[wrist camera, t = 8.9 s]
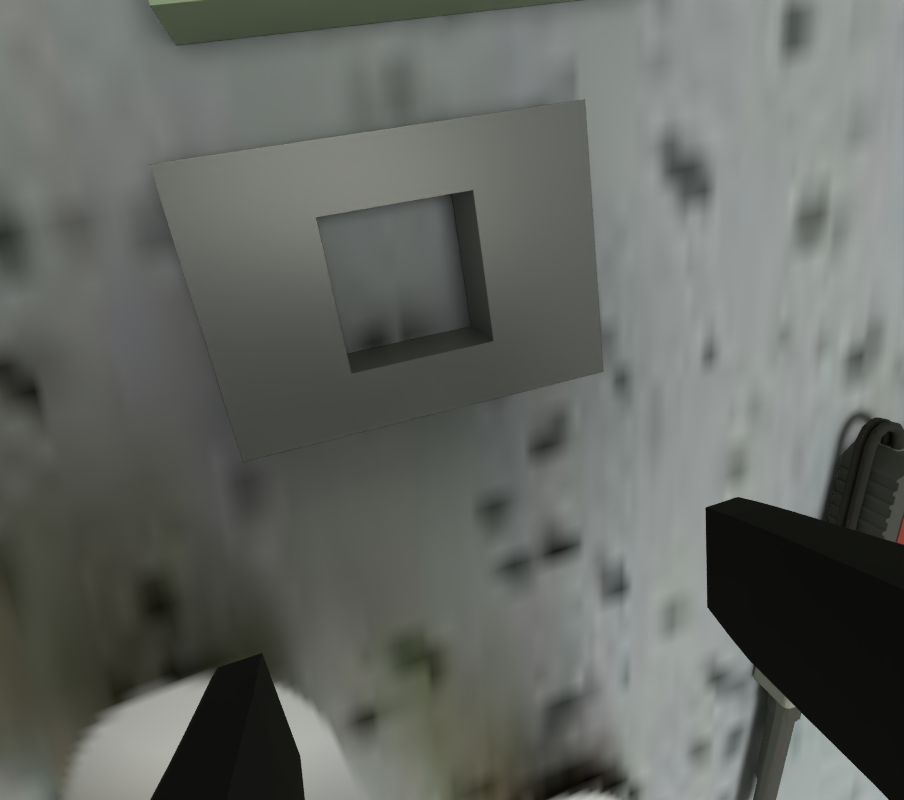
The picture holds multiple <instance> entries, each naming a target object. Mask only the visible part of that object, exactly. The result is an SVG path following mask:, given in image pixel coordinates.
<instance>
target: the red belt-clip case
mask: <svg viewBox="0 0 904 800" xmlns="http://www.w3.org/2000/svg"><path fill="white" fill-rule="evenodd" d="M841 457H842V463H841V465H840V466H839V468H838V470H840V471H839V475H838V478H836V480H835V482H836V483H837V484H836V488H835V490H834V491H833V493H832V494H833V495H834V497H833V501H832V502H831V503H830V507H831V509H830V514H828V515H827V519H828V522H829V523H832V524H835V525H839V526H842V527H845V528H849V529H852V530H855V531H859V532H862V533H865V534H869V535H872V536H875V537H879V538H882V539H886V540H889V541H892V542H896V543H899V544H903V545H904V430H903V428H902V426H901V425H900V424H899V423H894V422H891V421H890V420H887V419H883V418H874V419H871V420H870V421H869V422H868V423H866V424H865V425H864V426H863V427H862V429H861V431H860V433H859V435H858V437H857V439H856V441H855V442H854V443H853V444H852V445H851V446H850V447H849V448H848V449H847V450H846V451H845V452H844V453H843V454H842V455H841ZM754 678H755V680H756V681H757V682H758V683H759V684H760V685H761V686H762V687H763V688H764V689H765V690H766V691H767V692H768V693H769V695H768V700H767V707H768V709H769V711H768V716H767V721H766V725H765V730H764V734H763V739H762V744H761V748H760V753H759V757H758V762H757V766H756V771H755V773H756V777H757V784H756V789H755V793H754V798H753V800H776V797H777V793H778V789H779V785H780V781H781V777H782V772H783V768H784V764H785V760H786V756H787V752H788V748H789V744H790V740H791V736H792V731H793V727H794V723H795V722H796V721H797V720H798V719H800V716H801V712H800V711H799V710H798V709H797V708H796V707H795V706H794V705H793V704H792V703H791V702H790V701H789V700H788V699H787V698H786V697H785V696H784V695H783V694H782V693H781V692H780V691H779V690H778V689H777V688H776V687H775V686H774V685H773V684H772V683H771V682H770V681H769V680H768V679H767V678H766V677H765V676H764V675H763V674H762V673H761V672H760V671H759V670H758V669H757V668H756V667H755V671H754Z"/></svg>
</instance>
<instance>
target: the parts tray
mask: <svg viewBox="0 0 904 800" xmlns="http://www.w3.org/2000/svg"><path fill="white" fill-rule="evenodd" d="M568 1H577V0H149V4H150V6H151V8H152V9H153V11H154V12H155V14H156V15H157V17H158V18H159V20H160V21H161V23H162V24H163V26H164V28H165V29H166V31H167V32H168V34H169V35H170V37H171V38H172V40H173V41H174V43H175V44H176V45H183V44H192V43H201V42H210V41H219V40H228V39H237V38H246V37H255V36H264V35H273V34H282V33H291V32H299V31H308V30H317V29H326V28H335V27H344V26H353V25H362V24H371V23H380V22H389V21H398V20H407V19H416V18H425V17H434V16H443V15H452V14H461V13H470V12H479V11H488V10H496V9H505V8H514V7H523V6H532V5H541V4H550V3H559V2H568Z"/></svg>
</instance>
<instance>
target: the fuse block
mask: <svg viewBox="0 0 904 800" xmlns="http://www.w3.org/2000/svg"><path fill="white" fill-rule="evenodd" d="M149 165H150V168H151V172H152V175H153V178H154V181H155V184H156V187H157V191H158V194H159V197H160V200H161V203H162V206H163V210H164V213H165V216H166V219H167V222H168V226H169V229H170V232H171V235H172V238H173V241H174V245H175V248H176V251H177V254H178V257H179V260H180V264H181V267H182V270H183V273H184V276H185V279H186V283H187V286H188V289H189V292H190V295H191V299H192V302H193V305H194V308H195V311H196V314H197V318H198V321H199V324H200V327H201V330H202V333H203V337H204V340H205V343H206V346H207V349H208V352H209V356H210V359H211V362H212V365H213V368H214V371H215V375H216V378H217V381H218V384H219V387H220V391H221V394H222V397H223V400H224V403H225V406H226V410H227V413H228V416H229V419H230V422H231V425H232V429H233V432H234V435H235V438H236V441H237V444H238V448H239V451H240V454H241V457H242V460H243V462H245V461H249V460H253V459H257V458H261V457H265V456H269V455H273V454H277V453H281V452H285V451H289V450H293V449H297V448H301V447H305V446H309V445H313V444H317V443H321V442H325V441H329V440H333V439H337V438H341V437H345V436H349V435H353V434H357V433H361V432H365V431H369V430H373V429H377V428H381V427H385V426H389V425H393V424H397V423H401V422H405V421H409V420H412V419H416V418H420V417H424V416H428V415H432V414H436V413H440V412H444V411H448V410H452V409H456V408H460V407H464V406H468V405H472V404H476V403H480V402H484V401H488V400H492V399H496V398H500V397H504V396H508V395H512V394H516V393H520V392H524V391H528V390H532V389H536V388H540V387H544V386H548V385H552V384H556V383H560V382H564V381H568V380H572V379H576V378H580V377H584V376H588V375H592V374H596V373H600V372H604V371H603V357H602V342H601V327H600V312H599V297H598V283H597V268H596V253H595V238H594V224H593V209H592V194H591V179H590V164H589V150H588V135H587V120H586V105H585V99H584V100H577V101H571V102H564V103H557V104H551V105H544V106H537V107H530V108H524V109H517V110H510V111H503V112H497V113H490V114H483V115H476V116H470V117H463V118H456V119H450V120H443V121H436V122H429V123H423V124H416V125H409V126H402V127H396V128H389V129H382V130H375V131H369V132H362V133H355V134H348V135H342V136H335V137H328V138H322V139H315V140H308V141H301V142H295V143H288V144H281V145H274V146H268V147H261V148H254V149H247V150H241V151H234V152H227V153H221V154H214V155H207V156H200V157H194V158H187V159H180V160H173V161H167V162H160V163H153V164H149ZM447 194H452V200H453V207H454V214H455V220H456V227H457V234H458V241H459V247H460V254H461V261H462V268H463V274H464V281H465V288H466V295H467V302H468V308H469V315H470V322H471V327H467V328H462V329H458V330H453V331H449V332H444V333H440V334H435V335H431V336H426V337H422V338H417V339H413V340H408V341H404V342H399V343H395V344H390V345H386V346H381V347H377V348H372V349H368V350H363V351H359V352H354V353H350V354H347V352H346V347H345V343H344V339H343V334H342V330H341V326H340V321H339V317H338V312H337V308H336V304H335V299H334V295H333V291H332V286H331V282H330V277H329V273H328V269H327V264H326V260H325V255H324V251H323V247H322V242H321V238H320V234H319V229H318V225H317V220H316V217H321V216H327V215H333V214H339V213H344V212H350V211H356V210H361V209H367V208H373V207H379V206H384V205H390V204H396V203H402V202H407V201H413V200H419V199H424V198H430V197H436V196H442V195H447Z"/></svg>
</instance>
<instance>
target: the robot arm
mask: <svg viewBox="0 0 904 800" xmlns="http://www.w3.org/2000/svg"><path fill="white" fill-rule="evenodd" d="M706 553H707V607H708V608H709V610H710V611H711V612H712V614H713V615H714V616H715V618H716V619H717V620H718V622H719V623H720V624H721V625H722V627H723V628H724V629H725V631H726V632H727V633H728V635H729V636H730V637H731V638H732V640H733V641H734V642H735V643H736V644H737V646H738V647H739V648H740V649H741V651H742V652H743V653H744V654H745V655H746V657H747V658H748V659H749V660H750V661H751V662H752V663H753V664H754V665H755V667H756V668H757V669H758V670H759V671H760V672H761V673H762V674H763V675H764V676H765V677H766V678H767V679H768V680H769V681H770V682H771V683H772V684H773V685H774V686H775V687H776V688H777V689H778V690H779V691H780V692H781V693H782V694H783V695H784V696H785V697H786V698H787V699H788V700H789V701H790V702H791V703H792V704H793V705H794V706H795V707H796V708H797V709H798V710H799V711H800V712H801V713H802V714H803V715H804V716H805V717H806V718H807V719H808V720H809V721H810V722H811V723H812V724H813V725H815V726H816V727H817V728H818V729H819V730H820V731H821V732H822V733H823V734H824V735H825V736H826V737H827V738H828V739H829V740H830V741H831V742H832V743H833V744H834V745H835V746H836V747H837V748H838V749H839V750H840V751H841V752H842V753H843V754H844V755H845V756H846V757H847V758H848V759H849V760H850V761H851V762H852V763H853V764H854V765H855V766H856V767H857V768H858V769H859V770H860V771H861V772H862V773H863V774H864V775H865V776H866V777H867V778H868V779H869V780H870V781H871V782H872V783H873V784H874V785H875V786H876V787H877V788H878V789H879V790H880V791H881V792H882V793H883V794H884V795H885V796H886V797H887V798H888V799H889V800H904V545H903V544H899V543H896V542H892V541H889V540H886V539H882V538H879V537H875V536H872V535H869V534H865V533H862V532H859V531H855V530H852V529H849V528H845V527H842V526H839V525H835V524H832V523H829V522H825V521H822V520H819V519H816V518H812V517H809V516H806V515H802V514H799V513H796V512H792V511H789V510H785V509H782V508H778V507H775V506H771V505H768V504H764V503H760V502H756V501H752V500H748V499H744V498H739V497H736V498H733V499H730V500H727V501H724V502H721V503H718V504H715V505H712V506H709V507H706ZM151 800H305V798H304V788H303V779H302V769H301V759H300V754H299V752H298V749H297V746H296V744H295V741H294V738H293V735H292V733H291V730H290V727H289V725H288V722H287V719H286V717H285V714H284V711H283V708H282V706H281V703H280V700H279V698H278V695H277V692H276V689H275V687H274V684H273V681H272V679H271V676H270V673H269V670H268V668H267V665H266V662H265V660H264V657H263V654H262V653H261V654H258V655H255V656H252V657H249V658H246V659H243V660H240V661H237V662H234V663H231V664H228V665H225V666H222V667H219V668H217V670H216V672H215V673H214V675H213V676H212V678H211V680H210V682H209V684H208V686H207V688H206V690H205V692H204V695H203V697H202V699H201V701H200V703H199V705H198V707H197V709H196V711H195V714H194V715H193V717H192V719H191V722H190V723H189V726H188V728H187V730H186V732H185V734H184V736H183V738H182V740H181V742H180V744H179V746H178V748H177V750H176V752H175V754H174V756H173V758H172V760H171V762H170V764H169V766H168V768H167V769H166V771H165V773H164V775H163V777H162V779H161V781H160V783H159V784H158V786H157V788H156V790H155V792H154V794H153V796H152V798H151Z"/></svg>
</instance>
